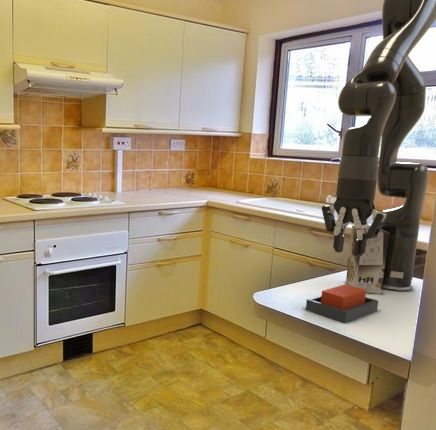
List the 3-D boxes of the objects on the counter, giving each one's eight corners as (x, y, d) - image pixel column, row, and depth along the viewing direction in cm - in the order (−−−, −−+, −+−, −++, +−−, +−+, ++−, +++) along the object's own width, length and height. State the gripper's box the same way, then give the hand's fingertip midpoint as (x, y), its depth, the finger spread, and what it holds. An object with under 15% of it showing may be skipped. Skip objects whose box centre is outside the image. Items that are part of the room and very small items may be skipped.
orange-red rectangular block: (343, 300, 109) (345, 284, 108) (364, 306, 105) (366, 289, 104) (319, 307, 103) (321, 290, 102) (341, 314, 99) (343, 297, 98)
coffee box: (382, 294, 116) (390, 232, 114) (355, 291, 117) (362, 230, 115) (370, 283, 125) (377, 226, 123) (344, 281, 126) (351, 224, 124)
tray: (338, 298, 111) (339, 289, 111) (377, 310, 104) (378, 300, 104) (305, 309, 103) (306, 299, 103) (345, 322, 96) (346, 312, 96)
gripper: (400, 179, 96) (389, 259, 98) (334, 174, 107) (326, 245, 110) (383, 180, 91) (372, 263, 94) (317, 174, 103) (309, 249, 105)
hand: (348, 253), depth 102 cm, fingers open, 3 cm apart
